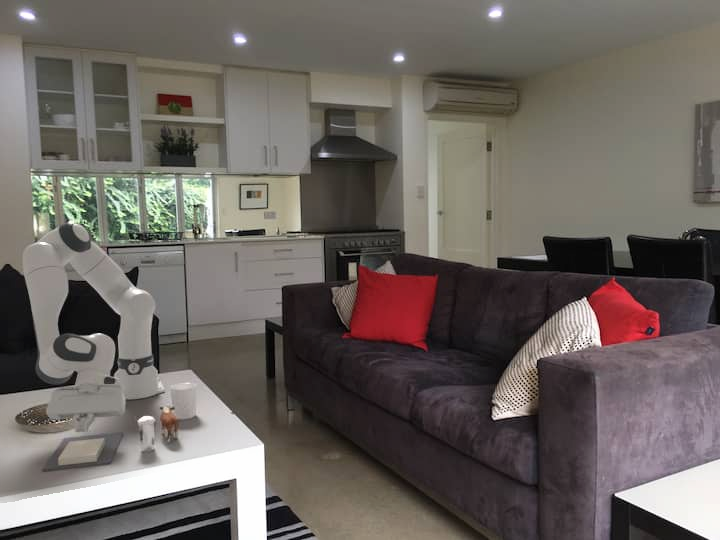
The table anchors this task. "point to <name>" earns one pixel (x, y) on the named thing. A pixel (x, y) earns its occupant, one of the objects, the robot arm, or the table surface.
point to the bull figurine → (169, 421)
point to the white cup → (184, 400)
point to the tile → (81, 451)
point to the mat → (104, 458)
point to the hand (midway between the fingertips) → (81, 431)
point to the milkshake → (146, 432)
